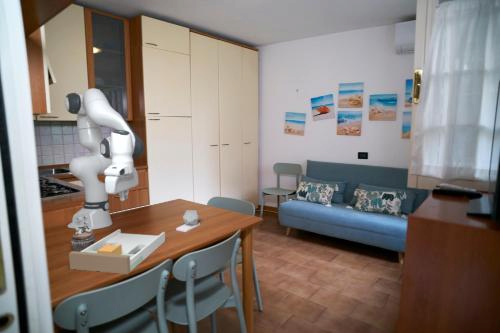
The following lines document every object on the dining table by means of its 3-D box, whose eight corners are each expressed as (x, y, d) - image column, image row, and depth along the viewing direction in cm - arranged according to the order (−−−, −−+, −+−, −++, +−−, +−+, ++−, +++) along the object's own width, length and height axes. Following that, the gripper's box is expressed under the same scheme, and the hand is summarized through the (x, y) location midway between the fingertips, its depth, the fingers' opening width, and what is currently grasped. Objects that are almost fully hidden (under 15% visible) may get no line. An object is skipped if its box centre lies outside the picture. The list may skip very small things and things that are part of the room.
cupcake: (69, 248, 142) (67, 227, 141) (91, 243, 149) (90, 222, 148) (75, 255, 136) (73, 232, 134) (99, 248, 142) (97, 227, 141)
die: (191, 229, 171) (201, 213, 173) (177, 220, 172) (188, 205, 174) (193, 230, 179) (203, 215, 181) (180, 221, 180) (190, 206, 182)
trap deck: (70, 269, 123) (68, 253, 122) (119, 237, 156) (118, 225, 155) (127, 274, 119) (126, 257, 118) (165, 241, 152) (164, 228, 151)
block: (97, 260, 125) (97, 250, 124) (108, 252, 132) (108, 243, 132) (111, 261, 124) (111, 251, 124) (122, 253, 131) (121, 244, 131)
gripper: (128, 164, 146) (129, 194, 148) (101, 171, 126) (103, 205, 128) (141, 165, 145) (142, 194, 147) (116, 172, 125) (117, 206, 127)
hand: (123, 200), depth 137 cm, fingers closed
